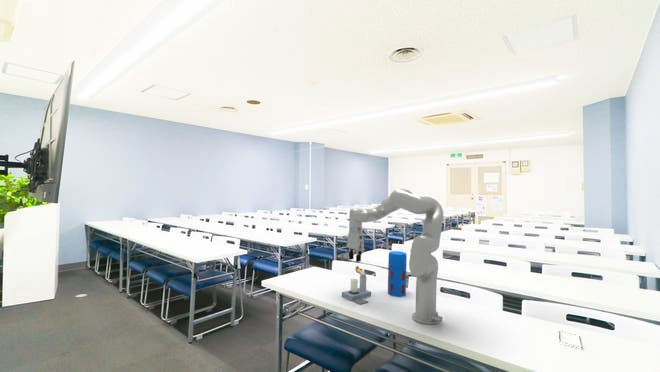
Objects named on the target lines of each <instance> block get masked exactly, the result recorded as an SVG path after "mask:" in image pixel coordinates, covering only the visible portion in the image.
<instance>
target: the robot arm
mask: <svg viewBox="0 0 660 372" xmlns="http://www.w3.org/2000/svg"><path fill="white" fill-rule="evenodd" d="M400 209H402V210H404V211H408V212H409V213H412V214H415V215H425V219H424V221H423V225H422V227H423V228H422V231H421V234H418V235H417V236H415V238H414V239H413V241H412V242H411V248H410V249H411V250H410V255H409V261H408V262H409V263H408V267H409V268H408V269H409V271H410V273H411V274H412V276H414V277H416V280H415V311H414V312H413V313H412V315H411V317H412V319H413V321H415V322H417V323H420V324H422V325H437V324H439V323H440V324H441V323H442V322H443V319H444V318H443V317H442V316H440V315H439V312H438V311H437V286H438V285H437V281H438V273H439V272H438V271H439V262H438V260H437V258H436V257H435V256H434V255H433V253H434V252H436V251H438V249H439V247H440V244H441V237H442V236H441V235H442V229H443V228H442V227H443V221H444V209H443V206H442V204H441V203H440V202H439V201H438V200H437V199H435V198H434V197H431V196H418V195H415V194H413V192H411V190H409V189H405V188H404V189H403V188H398V189H394V190H393V191H391V193H390V195H388V196H387V197H385V198H383V199H382V200H381V203H380V204H379V205H377V206H375V207H373V208H365V209H361V208H350V210H349V216H348V217H349V221H348V222H349V223H348V225H349V227H348V233H347V243H346V245H345V247H346V249H347V252H348V260H354V258H355V262H357V263H359V262H362V255H363V252H364V251H365V250H366V249H365V241H364V239H365V238H364V232H363V223H371V222H376V221H379V220H381V219H383V218H386V217H387V216H389V215H390V214H392V213H394V212H396V211H398V210H400ZM354 250H355V251H356V256H355V255H354V254H355V252H354ZM354 256H355V257H354Z"/></svg>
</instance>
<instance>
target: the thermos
mask: <svg viewBox="0 0 660 372" xmlns="http://www.w3.org/2000/svg"><path fill="white" fill-rule="evenodd" d="M407 257H408V256H407V252H404V251H399V250H393V251H392V250H391V251H388V263H387V264H388V266H387V274H388V275H387V294H388V295H389V296H391V297H396V298H403V297H405V296H406V292H407V261H408V260H407Z"/></svg>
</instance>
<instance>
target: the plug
mask: <svg viewBox="0 0 660 372" xmlns="http://www.w3.org/2000/svg"><path fill="white" fill-rule="evenodd" d="M358 282H359V281H358V279H357V278H351V279H350V289H349V290H350V293H351V294H353V295H355V294H357V293H358V291H357V289H358V288H359V286H358V285H359V283H358Z"/></svg>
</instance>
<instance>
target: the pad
mask: <svg viewBox="0 0 660 372" xmlns="http://www.w3.org/2000/svg"><path fill="white" fill-rule="evenodd" d="M352 302H353V303H356V304H357V305H360V306H361V305H365V304H368V303H369V301H367V300H365V298H360V299H356V300H353V301H352Z"/></svg>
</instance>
